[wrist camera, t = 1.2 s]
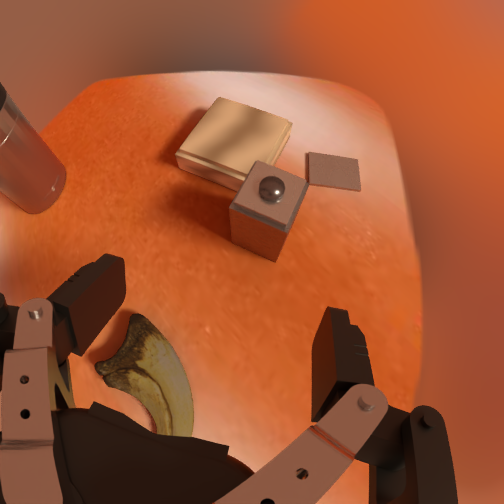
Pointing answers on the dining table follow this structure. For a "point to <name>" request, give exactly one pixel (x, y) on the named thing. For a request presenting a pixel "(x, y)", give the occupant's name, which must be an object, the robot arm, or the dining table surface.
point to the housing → (266, 209)
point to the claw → (152, 377)
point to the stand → (232, 142)
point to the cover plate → (334, 172)
